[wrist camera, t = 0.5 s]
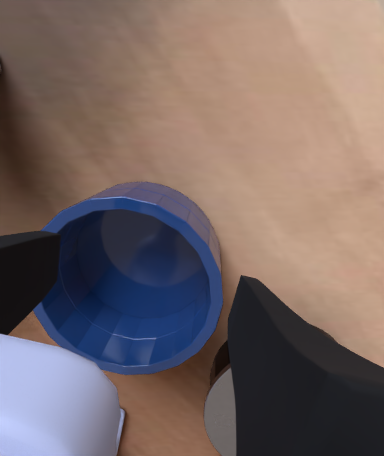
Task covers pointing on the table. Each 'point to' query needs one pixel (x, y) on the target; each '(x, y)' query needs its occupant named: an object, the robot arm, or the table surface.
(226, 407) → the lid
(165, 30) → the table surface
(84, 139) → the table surface
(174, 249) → the pot
